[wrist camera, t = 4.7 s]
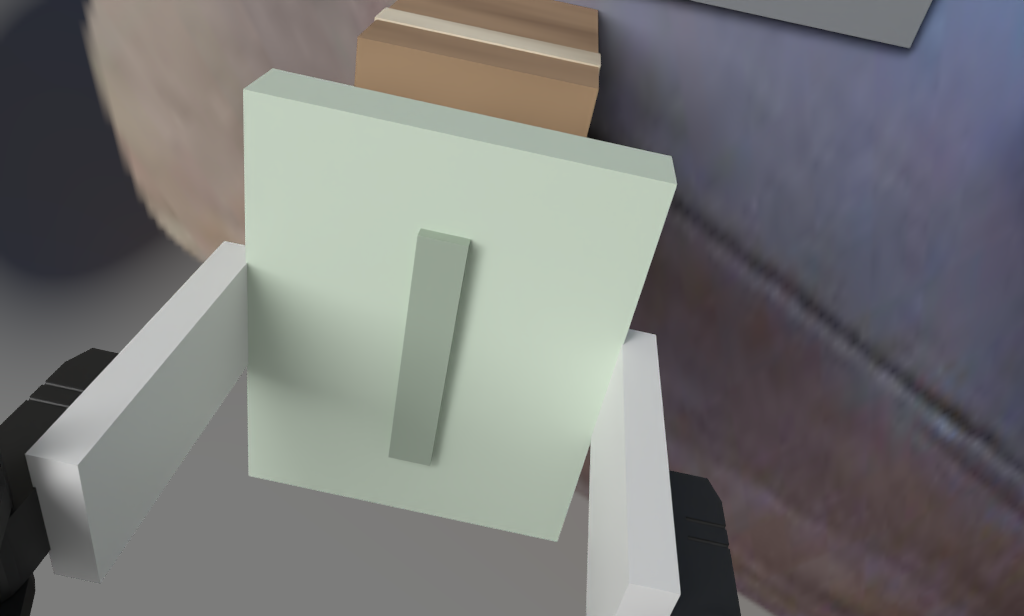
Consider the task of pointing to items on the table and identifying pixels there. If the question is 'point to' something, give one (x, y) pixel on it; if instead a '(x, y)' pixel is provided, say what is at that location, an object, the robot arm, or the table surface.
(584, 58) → the walnut box
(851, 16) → the mat
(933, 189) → the table surface
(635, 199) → the lid
